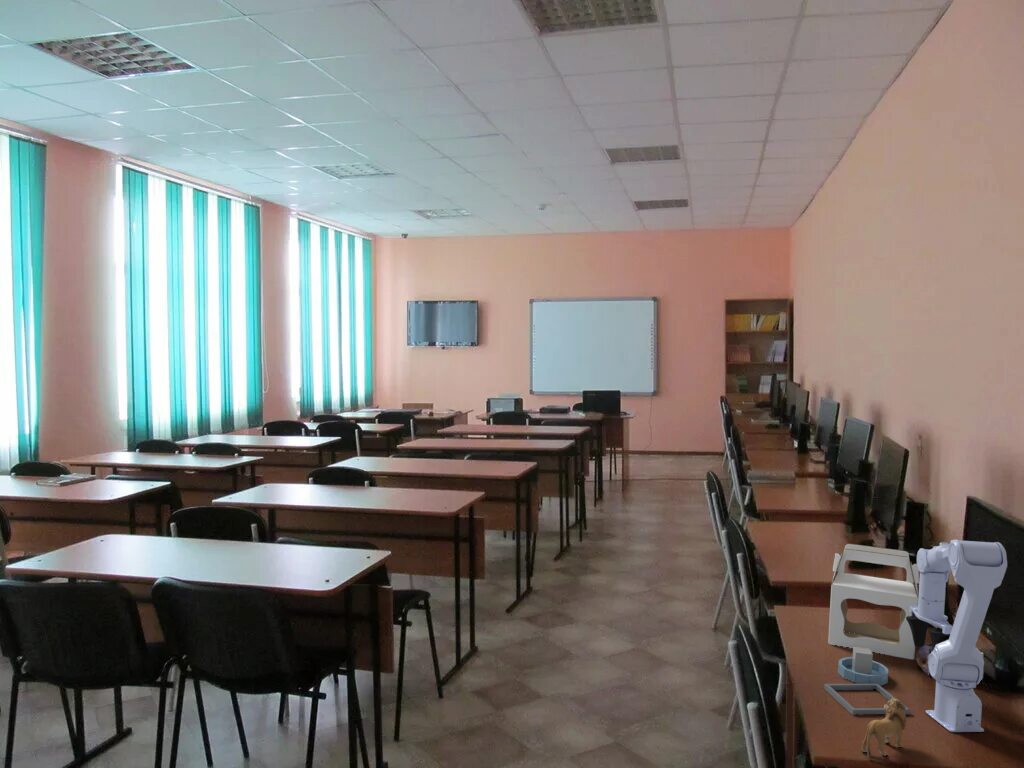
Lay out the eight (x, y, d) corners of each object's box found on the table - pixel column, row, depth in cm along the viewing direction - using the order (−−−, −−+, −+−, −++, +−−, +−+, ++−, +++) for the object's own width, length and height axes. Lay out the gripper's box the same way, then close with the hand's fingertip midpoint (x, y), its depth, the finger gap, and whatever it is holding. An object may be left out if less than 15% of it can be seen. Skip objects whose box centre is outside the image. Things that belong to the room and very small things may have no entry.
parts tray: (909, 714, 182) (909, 709, 182) (852, 715, 181) (852, 709, 181) (877, 688, 196) (877, 683, 195) (824, 688, 194) (824, 683, 194)
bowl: (897, 685, 197) (897, 675, 197) (852, 685, 196) (853, 676, 196) (872, 666, 209) (872, 657, 209) (829, 666, 208) (830, 657, 208)
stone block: (871, 677, 200) (872, 654, 200) (854, 675, 201) (855, 652, 201) (868, 671, 204) (869, 648, 204) (851, 669, 205) (853, 646, 205)
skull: (947, 683, 200) (949, 659, 200) (913, 675, 204) (915, 652, 204) (947, 666, 211) (949, 644, 210) (915, 660, 215) (917, 638, 214)
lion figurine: (884, 732, 173) (886, 692, 173) (910, 742, 169) (912, 701, 169) (855, 755, 163) (858, 712, 163) (882, 766, 159) (884, 722, 159)
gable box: (827, 644, 224) (832, 547, 222) (830, 629, 236) (835, 537, 234) (915, 660, 214) (921, 558, 212) (914, 644, 226) (920, 547, 224)
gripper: (966, 608, 188) (962, 664, 188) (929, 588, 202) (925, 640, 203) (938, 608, 187) (934, 664, 188) (902, 588, 201) (899, 640, 202)
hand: (928, 652), depth 195 cm, fingers open, 7 cm apart
